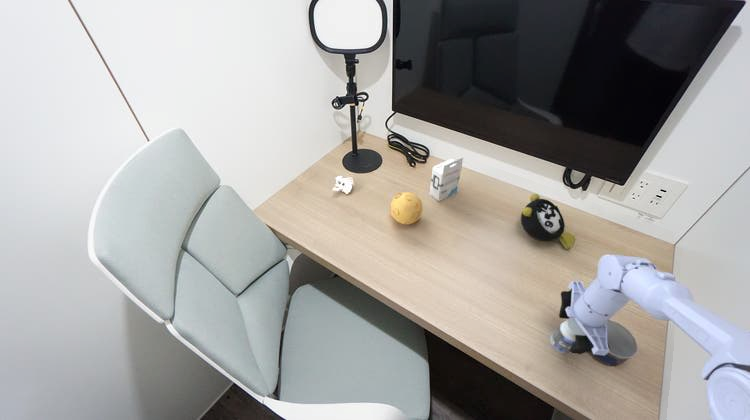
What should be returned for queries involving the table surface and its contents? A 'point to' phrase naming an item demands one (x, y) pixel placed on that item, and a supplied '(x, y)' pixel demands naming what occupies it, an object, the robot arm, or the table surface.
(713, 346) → the robot arm
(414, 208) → the stress ball
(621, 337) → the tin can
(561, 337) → the pill bottle
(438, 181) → the ink box
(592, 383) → the table surface
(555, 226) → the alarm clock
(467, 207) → the table surface
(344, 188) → the anatomical pelvis
